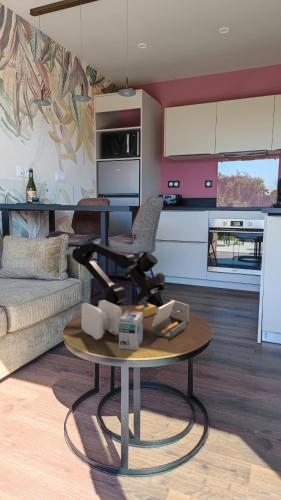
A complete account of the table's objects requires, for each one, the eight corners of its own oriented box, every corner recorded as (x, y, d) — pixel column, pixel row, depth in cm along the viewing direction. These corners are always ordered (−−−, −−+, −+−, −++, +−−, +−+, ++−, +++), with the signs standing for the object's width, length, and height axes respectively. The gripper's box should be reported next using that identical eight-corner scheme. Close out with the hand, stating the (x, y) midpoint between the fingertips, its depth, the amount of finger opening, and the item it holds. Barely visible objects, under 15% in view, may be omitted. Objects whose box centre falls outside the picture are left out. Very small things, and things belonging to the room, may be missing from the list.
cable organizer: (79, 330, 132) (80, 301, 131) (102, 325, 138) (103, 298, 137) (98, 342, 120) (99, 311, 119) (122, 336, 126) (123, 306, 125)
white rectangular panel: (153, 326, 129) (151, 325, 129) (168, 317, 141) (167, 316, 141) (159, 308, 127) (158, 307, 127) (174, 301, 139) (173, 300, 139)
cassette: (189, 322, 146) (190, 305, 145) (186, 322, 145) (187, 305, 144) (171, 315, 155) (171, 299, 155) (168, 315, 154) (168, 299, 154)
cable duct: (153, 334, 129) (153, 327, 129) (168, 324, 141) (168, 318, 141) (171, 338, 125) (172, 331, 125) (185, 328, 137) (186, 321, 137)
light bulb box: (137, 350, 113) (137, 320, 112) (117, 348, 114) (118, 318, 113) (143, 339, 124) (143, 311, 123) (125, 337, 125) (126, 309, 124)
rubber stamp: (143, 317, 150) (144, 291, 149) (134, 315, 154) (134, 289, 153) (157, 313, 158) (158, 288, 157) (147, 310, 162) (148, 286, 160)
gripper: (142, 269, 127) (167, 302, 122) (163, 264, 143) (186, 292, 138) (124, 287, 131) (148, 319, 127) (147, 280, 147) (168, 308, 143)
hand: (164, 309), depth 134 cm, fingers closed, pressing on white rectangular panel
